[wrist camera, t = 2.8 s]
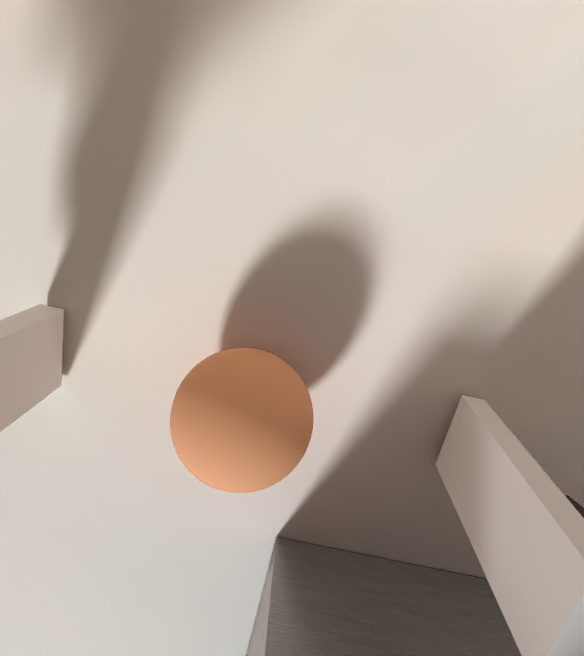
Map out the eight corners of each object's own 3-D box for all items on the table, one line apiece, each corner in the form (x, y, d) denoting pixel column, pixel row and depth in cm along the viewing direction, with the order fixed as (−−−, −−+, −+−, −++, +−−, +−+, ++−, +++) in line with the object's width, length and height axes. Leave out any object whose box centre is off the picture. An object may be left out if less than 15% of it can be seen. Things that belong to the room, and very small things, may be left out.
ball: (185, 425, 14) (140, 510, 10) (201, 317, 13) (156, 368, 9) (298, 448, 14) (294, 541, 10) (325, 343, 13) (331, 405, 9)
